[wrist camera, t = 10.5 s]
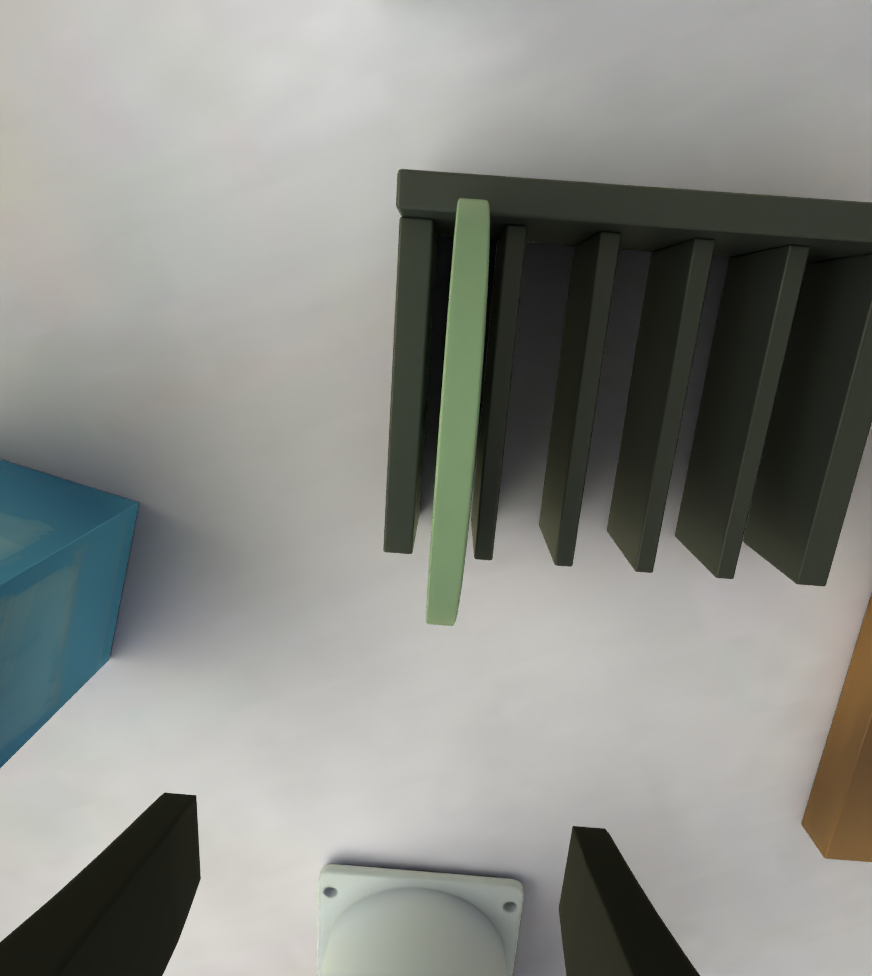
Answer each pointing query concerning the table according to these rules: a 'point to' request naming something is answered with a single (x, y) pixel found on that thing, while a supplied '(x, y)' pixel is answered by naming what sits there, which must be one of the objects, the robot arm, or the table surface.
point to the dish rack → (639, 369)
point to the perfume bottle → (55, 593)
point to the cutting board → (847, 766)
